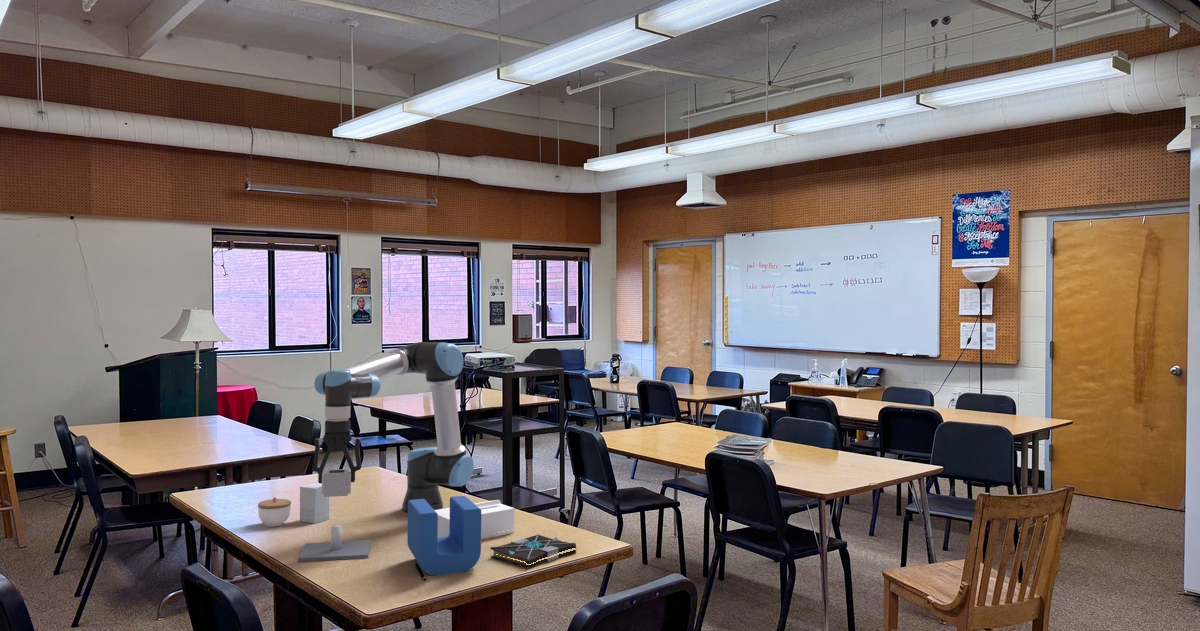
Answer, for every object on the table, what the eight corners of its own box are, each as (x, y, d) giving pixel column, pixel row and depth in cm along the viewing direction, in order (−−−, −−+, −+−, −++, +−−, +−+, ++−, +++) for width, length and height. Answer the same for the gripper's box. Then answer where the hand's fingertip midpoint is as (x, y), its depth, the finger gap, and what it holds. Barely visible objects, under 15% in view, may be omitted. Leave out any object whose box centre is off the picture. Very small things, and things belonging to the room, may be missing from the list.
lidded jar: (278, 529, 270) (279, 502, 270) (251, 527, 272) (251, 500, 272) (296, 521, 281) (297, 495, 281) (269, 519, 283) (270, 493, 283)
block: (418, 577, 222) (419, 514, 222) (407, 559, 239) (407, 500, 239) (480, 570, 230) (481, 508, 230) (465, 553, 246) (466, 495, 246)
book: (528, 570, 231) (528, 553, 231) (488, 558, 242) (489, 542, 242) (576, 554, 248) (577, 538, 248) (538, 543, 258) (538, 528, 258)
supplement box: (329, 519, 284) (330, 484, 284) (314, 524, 278) (314, 488, 278) (314, 516, 288) (314, 482, 288) (298, 521, 281) (299, 486, 281)
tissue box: (428, 536, 264) (428, 504, 264) (491, 524, 281) (491, 494, 281) (449, 546, 253) (450, 512, 253) (514, 533, 270) (514, 501, 270)
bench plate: (370, 543, 255) (371, 518, 255) (368, 557, 240) (368, 531, 240) (305, 546, 251) (305, 521, 251) (298, 561, 235) (298, 534, 235)
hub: (349, 491, 249) (349, 468, 250) (347, 496, 243) (347, 473, 243) (325, 491, 248) (326, 469, 248) (323, 496, 241) (323, 474, 241)
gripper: (371, 417, 251) (370, 489, 251) (305, 418, 247) (304, 491, 247) (370, 420, 244) (369, 494, 244) (302, 421, 239) (300, 497, 239)
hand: (336, 493), depth 245 cm, fingers closed on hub, 7 cm apart
